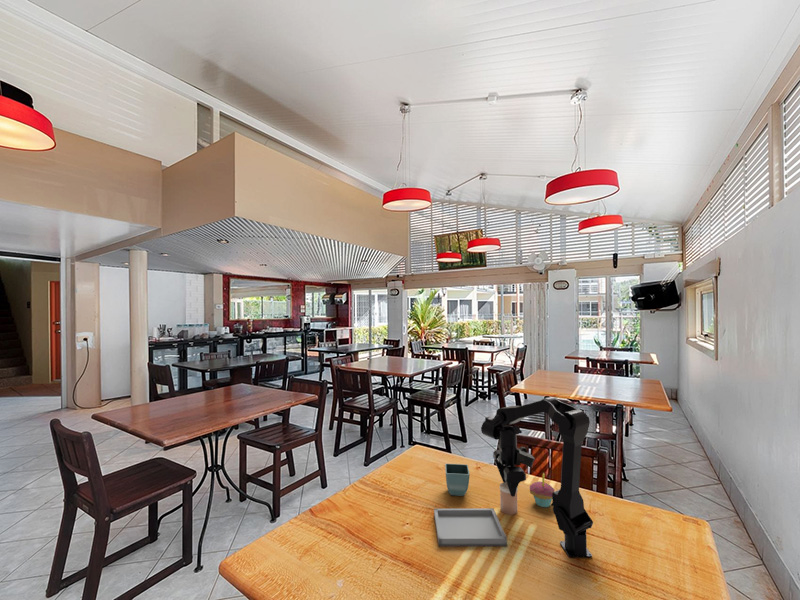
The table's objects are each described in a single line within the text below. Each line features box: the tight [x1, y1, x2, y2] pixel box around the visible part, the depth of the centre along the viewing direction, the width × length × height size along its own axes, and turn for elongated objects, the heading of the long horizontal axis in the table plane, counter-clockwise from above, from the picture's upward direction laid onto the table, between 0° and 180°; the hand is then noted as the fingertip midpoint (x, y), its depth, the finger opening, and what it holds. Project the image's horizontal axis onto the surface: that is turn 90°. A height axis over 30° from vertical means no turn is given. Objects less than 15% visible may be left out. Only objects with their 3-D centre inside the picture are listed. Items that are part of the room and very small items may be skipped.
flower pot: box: [444, 463, 471, 497], centre depth 138 cm, size 9×9×9 cm
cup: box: [499, 482, 519, 516], centre depth 126 cm, size 6×6×8 cm
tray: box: [433, 507, 508, 547], centre depth 115 cm, size 16×20×2 cm
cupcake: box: [529, 472, 556, 508], centre depth 130 cm, size 9×8×12 cm
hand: (508, 489), depth 126 cm, fingers open, 9 cm apart
